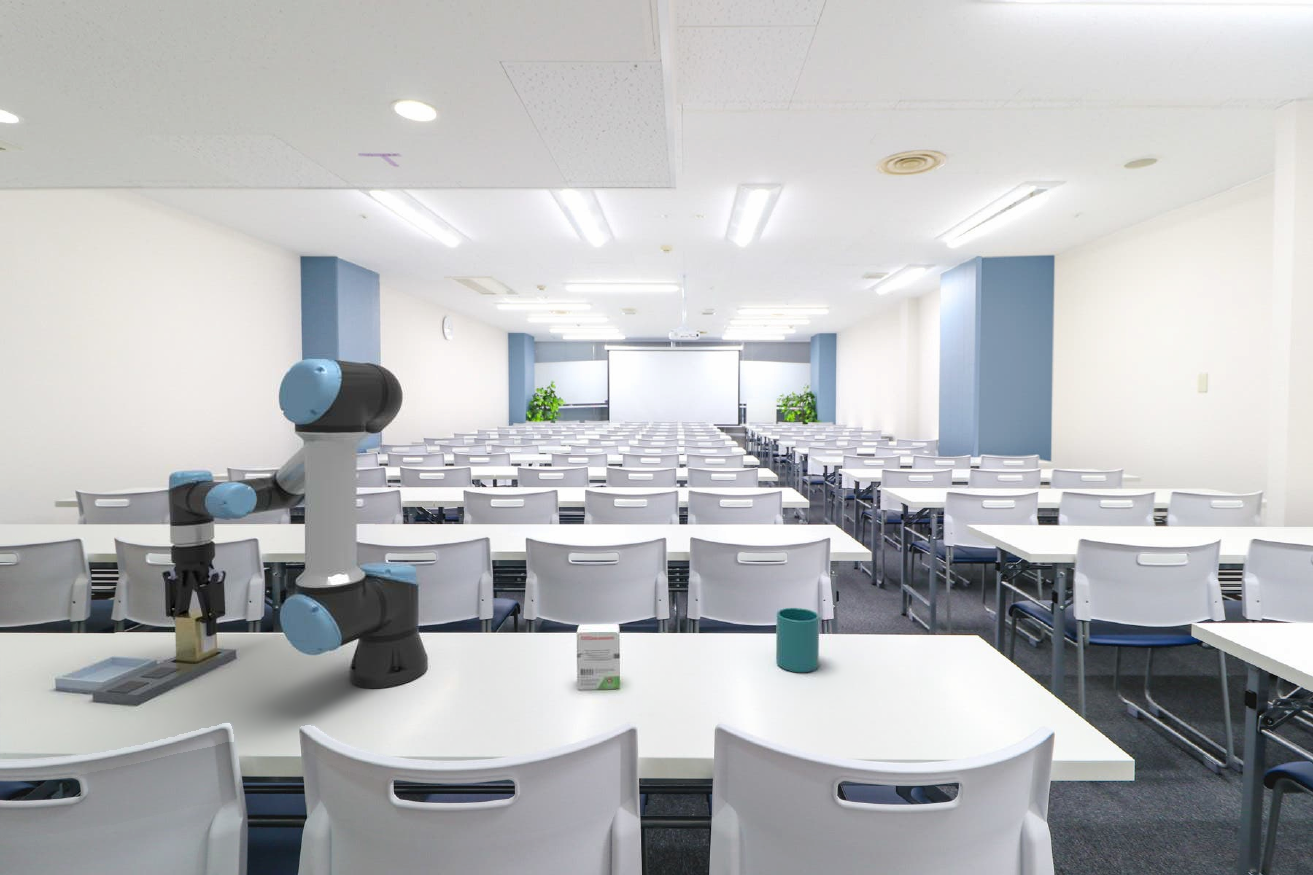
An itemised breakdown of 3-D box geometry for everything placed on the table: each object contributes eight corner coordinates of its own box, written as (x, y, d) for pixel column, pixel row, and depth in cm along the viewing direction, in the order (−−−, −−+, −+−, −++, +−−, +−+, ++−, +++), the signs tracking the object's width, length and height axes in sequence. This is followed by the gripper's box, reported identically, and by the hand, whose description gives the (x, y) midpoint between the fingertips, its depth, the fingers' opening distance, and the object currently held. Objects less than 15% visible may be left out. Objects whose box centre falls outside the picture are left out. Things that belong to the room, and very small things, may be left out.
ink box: (620, 678, 125) (620, 622, 125) (619, 689, 121) (619, 631, 120) (578, 679, 125) (578, 623, 125) (576, 690, 120) (576, 632, 120)
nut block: (217, 660, 133) (215, 610, 133) (196, 669, 128) (195, 618, 128) (197, 658, 134) (196, 609, 133) (176, 668, 129) (174, 617, 129)
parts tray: (157, 670, 129) (157, 659, 129) (102, 694, 118) (101, 682, 118) (113, 667, 130) (113, 655, 130) (55, 690, 120) (55, 678, 119)
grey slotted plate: (236, 658, 135) (236, 649, 135) (137, 705, 114) (137, 694, 113) (197, 655, 137) (197, 646, 137) (92, 701, 115) (92, 690, 115)
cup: (806, 650, 140) (806, 602, 140) (824, 672, 128) (825, 620, 128) (767, 651, 140) (768, 603, 139) (782, 674, 128) (783, 621, 127)
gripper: (244, 540, 132) (247, 645, 133) (173, 537, 135) (177, 640, 136) (214, 547, 125) (217, 658, 126) (139, 545, 128) (144, 653, 129)
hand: (196, 649), depth 131 cm, fingers closed on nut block, 5 cm apart
